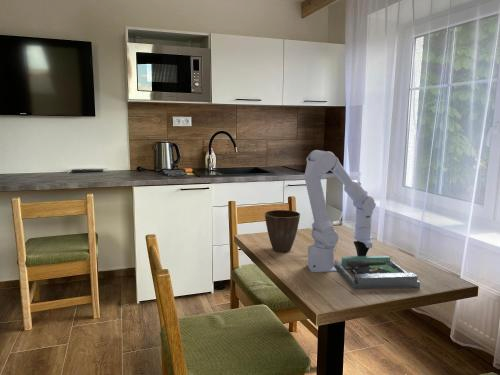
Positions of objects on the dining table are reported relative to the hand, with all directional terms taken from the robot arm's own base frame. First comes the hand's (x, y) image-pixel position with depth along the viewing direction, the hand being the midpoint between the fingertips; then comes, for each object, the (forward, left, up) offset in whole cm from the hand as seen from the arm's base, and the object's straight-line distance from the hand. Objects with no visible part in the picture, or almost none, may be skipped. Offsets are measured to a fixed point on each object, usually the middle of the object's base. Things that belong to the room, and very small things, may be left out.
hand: (361, 260), depth 154 cm
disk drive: (+1, -12, -2) cm, 13 cm away
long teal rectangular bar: (0, -5, -1) cm, 5 cm away
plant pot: (-28, +19, -2) cm, 34 cm away
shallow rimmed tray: (0, -12, -1) cm, 12 cm away
